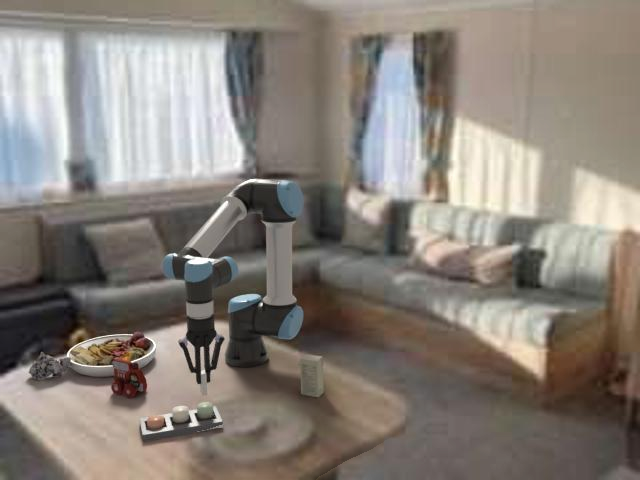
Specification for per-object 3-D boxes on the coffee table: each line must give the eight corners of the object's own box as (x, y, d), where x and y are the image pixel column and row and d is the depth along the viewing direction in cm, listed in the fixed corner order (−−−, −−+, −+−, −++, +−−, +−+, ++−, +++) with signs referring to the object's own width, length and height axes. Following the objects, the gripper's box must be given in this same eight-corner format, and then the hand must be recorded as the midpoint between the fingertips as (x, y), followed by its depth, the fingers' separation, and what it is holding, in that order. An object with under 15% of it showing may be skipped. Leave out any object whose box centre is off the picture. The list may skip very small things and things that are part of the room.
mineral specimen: (76, 362, 225) (56, 342, 222) (63, 382, 218) (41, 361, 214) (53, 373, 230) (32, 353, 227) (39, 392, 223) (18, 372, 219)
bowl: (108, 388, 215) (106, 365, 213) (49, 368, 231) (47, 347, 229) (174, 357, 240) (173, 336, 238) (117, 341, 255) (115, 321, 254)
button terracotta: (163, 422, 190) (162, 413, 190) (165, 430, 186) (164, 421, 185) (146, 425, 189) (146, 416, 188) (148, 433, 185) (147, 424, 184)
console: (216, 412, 198) (215, 406, 198) (222, 427, 189) (222, 421, 188) (139, 424, 191) (139, 418, 190) (143, 441, 182) (142, 434, 181)
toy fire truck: (137, 400, 206) (135, 369, 204) (107, 392, 211) (105, 362, 209) (152, 391, 212) (150, 361, 210) (123, 384, 217) (120, 354, 215)
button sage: (211, 409, 195) (211, 400, 194) (214, 416, 190) (214, 407, 190) (195, 412, 193) (195, 403, 192) (198, 419, 189) (198, 410, 188)
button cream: (187, 413, 192) (187, 404, 192) (190, 420, 188) (189, 411, 187) (171, 416, 191) (171, 407, 190) (173, 423, 186) (173, 414, 186)
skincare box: (324, 392, 211) (324, 356, 208) (318, 398, 207) (318, 361, 204) (306, 388, 213) (305, 353, 211) (299, 394, 210) (299, 358, 207)
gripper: (220, 308, 191) (223, 384, 196) (174, 313, 186) (178, 391, 191) (226, 316, 184) (229, 395, 189) (178, 321, 179) (182, 402, 185)
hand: (203, 393), depth 190 cm, fingers closed
